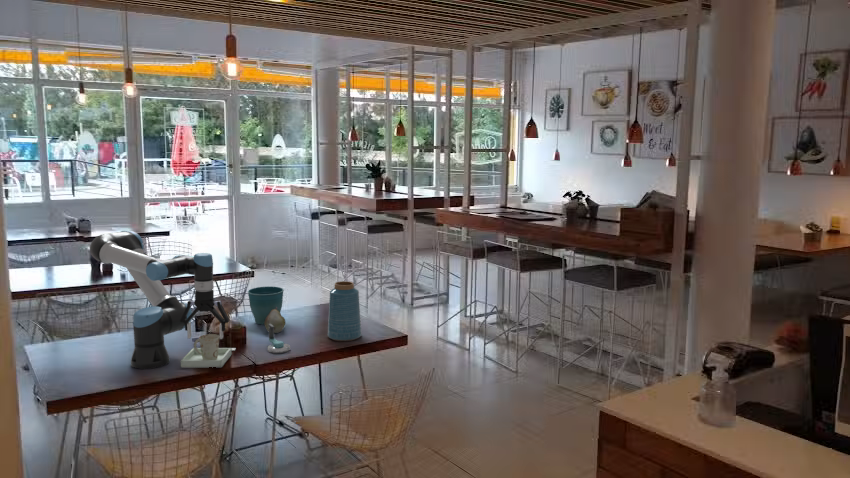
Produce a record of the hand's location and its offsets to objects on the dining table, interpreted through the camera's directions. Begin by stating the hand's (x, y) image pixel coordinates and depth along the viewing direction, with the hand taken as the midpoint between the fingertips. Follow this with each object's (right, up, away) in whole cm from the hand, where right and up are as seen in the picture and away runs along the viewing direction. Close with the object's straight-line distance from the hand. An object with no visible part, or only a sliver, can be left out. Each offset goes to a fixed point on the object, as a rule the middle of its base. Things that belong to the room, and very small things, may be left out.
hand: (205, 338), depth 285 cm
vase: (+55, -5, +38) cm, 67 cm away
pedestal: (+28, -8, +17) cm, 34 cm away
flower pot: (+11, -1, +62) cm, 63 cm away
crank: (+25, -6, +21) cm, 33 cm away
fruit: (+20, -4, +45) cm, 49 cm away
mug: (-1, -9, +2) cm, 10 cm away
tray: (0, -10, +1) cm, 10 cm away
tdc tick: (+6, -8, +16) cm, 19 cm away
